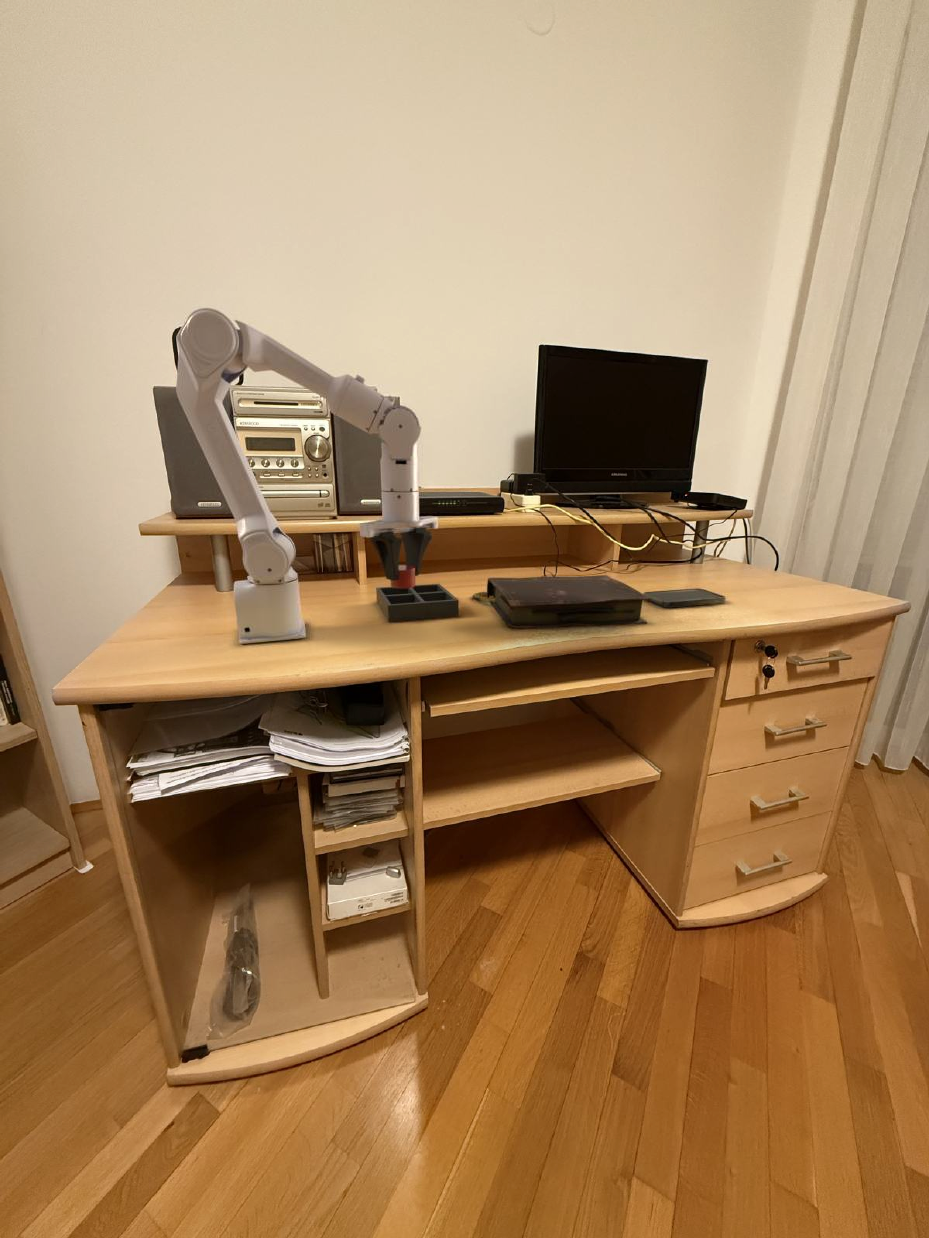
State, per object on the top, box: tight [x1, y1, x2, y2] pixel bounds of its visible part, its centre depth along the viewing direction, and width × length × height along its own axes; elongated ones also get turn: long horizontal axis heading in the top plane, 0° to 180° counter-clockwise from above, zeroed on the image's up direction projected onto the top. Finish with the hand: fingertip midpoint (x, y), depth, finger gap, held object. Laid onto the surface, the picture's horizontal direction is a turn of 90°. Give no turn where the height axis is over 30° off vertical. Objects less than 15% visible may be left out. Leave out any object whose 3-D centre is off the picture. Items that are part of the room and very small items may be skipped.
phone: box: [642, 587, 727, 608], centre depth 100 cm, size 8×1×15 cm
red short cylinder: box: [390, 564, 416, 589], centre depth 79 cm, size 4×4×3 cm
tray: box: [375, 583, 460, 623], centre depth 91 cm, size 13×13×3 cm
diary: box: [486, 574, 651, 629], centre depth 91 cm, size 19×25×5 cm
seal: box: [472, 591, 495, 607], centre depth 98 cm, size 9×5×15 cm
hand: (402, 577), depth 80 cm, fingers closed on red short cylinder, 4 cm apart
